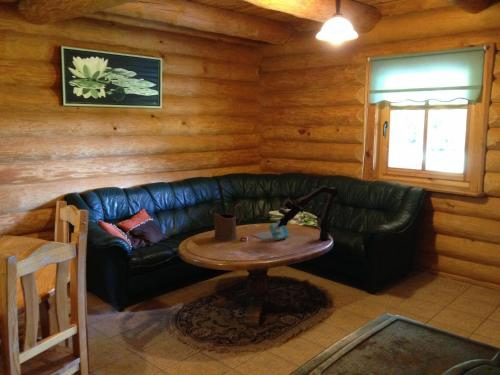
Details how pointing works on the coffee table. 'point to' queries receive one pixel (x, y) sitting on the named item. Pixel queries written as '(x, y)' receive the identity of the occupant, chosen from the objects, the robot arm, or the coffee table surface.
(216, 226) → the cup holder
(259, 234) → the slate rubber mat
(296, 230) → the coffee table surface
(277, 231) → the data package
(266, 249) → the coffee table surface
